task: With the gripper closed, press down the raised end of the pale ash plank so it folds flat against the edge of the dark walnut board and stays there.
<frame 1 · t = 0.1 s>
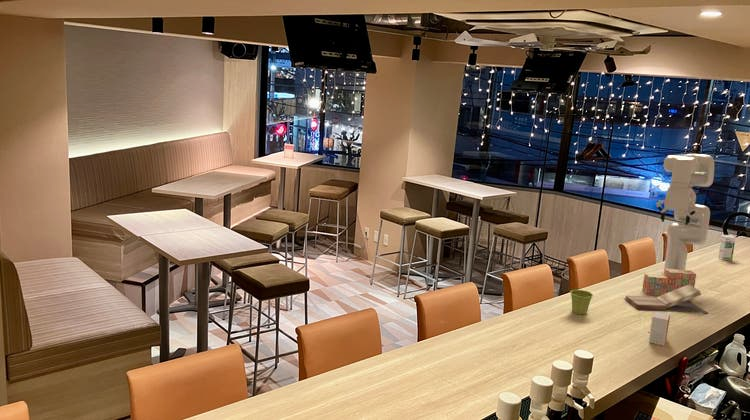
hand: (674, 222, 269), 37 cm above the bar counter, tool pointing down, fingers open, 9 cm apart
laid board: (645, 304, 268), resting on underlay mat
small box: (657, 341, 228), on the bar counter
plank: (678, 296, 267), point 5 cm above the bar counter, hinge at 25.0°
stack of blocks: (666, 295, 285), on the bar counter
syrup box: (724, 259, 357), on the bar counter
underlay mat: (664, 306, 268), on the bar counter
plant pot: (579, 312, 256), on the bar counter
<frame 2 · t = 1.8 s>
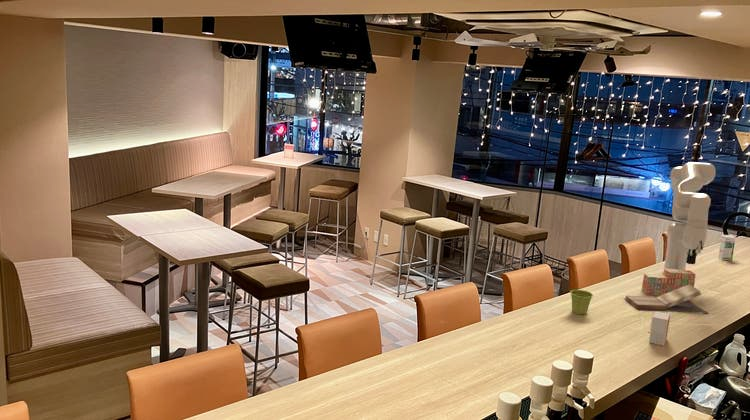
hand: (690, 263, 264), 21 cm above the bar counter, tool pointing down, fingers closed
nothing on the bar counter moved.
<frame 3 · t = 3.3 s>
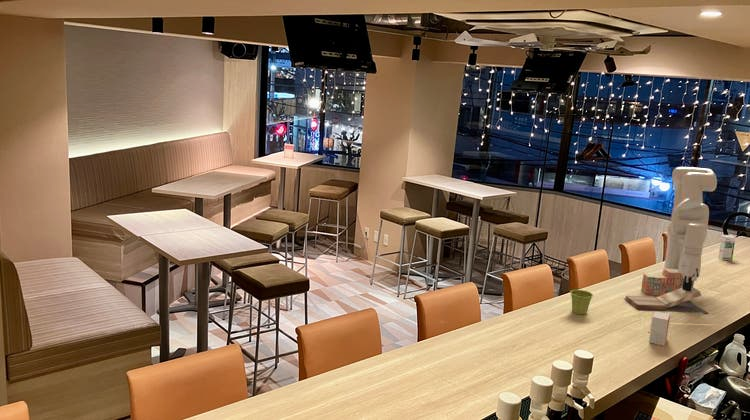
hand: (686, 290, 266), 8 cm above the bar counter, tool pointing down, fingers closed
plank: (678, 296, 267), point 5 cm above the bar counter, hinge at 23.7°, touching gripper
everything else where it was.
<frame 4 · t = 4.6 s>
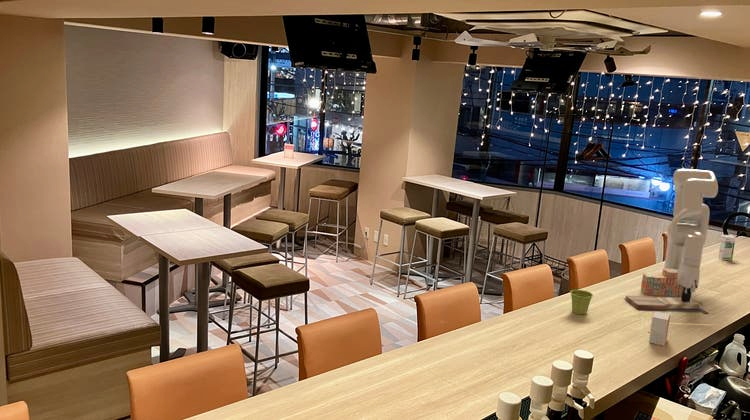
hand: (685, 301, 267), 3 cm above the bar counter, tool pointing down, fingers closed
plank: (677, 302, 268), point 2 cm above the bar counter, hinge at 1.6°, touching gripper
everything else where it was.
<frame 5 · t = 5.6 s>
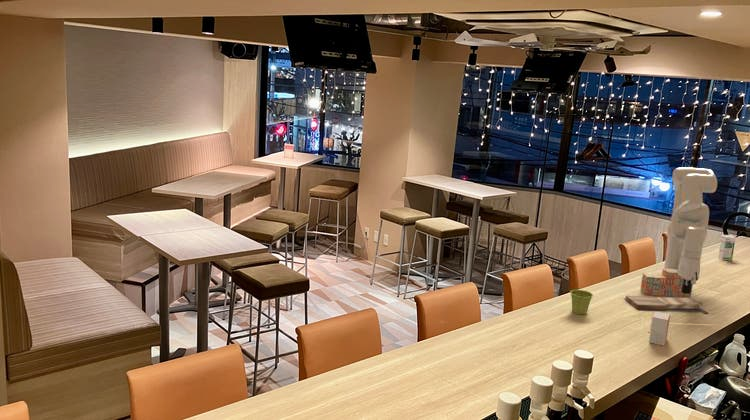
hand: (685, 292, 268), 7 cm above the bar counter, tool pointing down, fingers closed
plank: (677, 303, 268), point 2 cm above the bar counter, hinge at 1.4°
everything else where it was.
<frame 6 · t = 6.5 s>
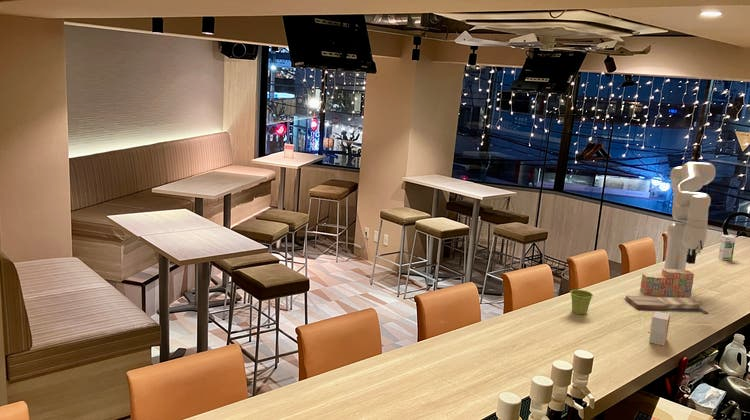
hand: (690, 263, 265), 21 cm above the bar counter, tool pointing down, fingers closed
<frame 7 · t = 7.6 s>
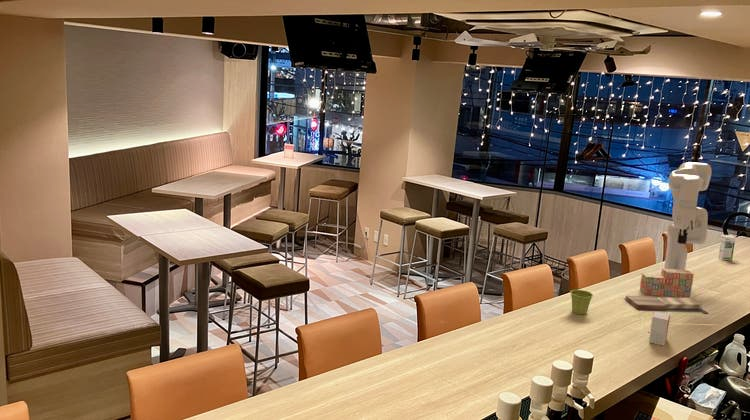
hand: (681, 243, 274), 27 cm above the bar counter, tool pointing down, fingers closed
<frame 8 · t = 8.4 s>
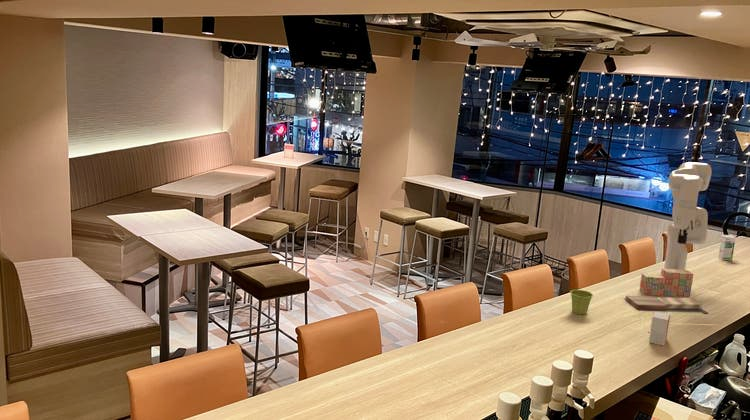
hand: (681, 243, 274), 27 cm above the bar counter, tool pointing down, fingers closed
at the end: plank at +1° (first picture: +25°); the gripper is holding nothing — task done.
